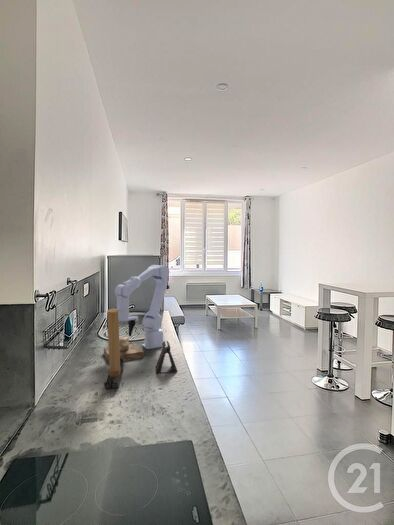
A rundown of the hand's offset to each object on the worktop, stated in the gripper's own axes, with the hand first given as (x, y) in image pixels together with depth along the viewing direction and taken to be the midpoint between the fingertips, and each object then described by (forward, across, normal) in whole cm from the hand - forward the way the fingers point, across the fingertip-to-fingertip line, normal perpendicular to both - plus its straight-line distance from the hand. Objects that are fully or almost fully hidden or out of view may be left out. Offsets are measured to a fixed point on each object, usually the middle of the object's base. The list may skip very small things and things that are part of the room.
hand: (123, 336), depth 148 cm
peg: (+9, 0, 0) cm, 9 cm away
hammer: (+10, +10, +26) cm, 29 cm away
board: (+9, 0, 0) cm, 9 cm away
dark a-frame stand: (+10, -12, +26) cm, 30 cm away
